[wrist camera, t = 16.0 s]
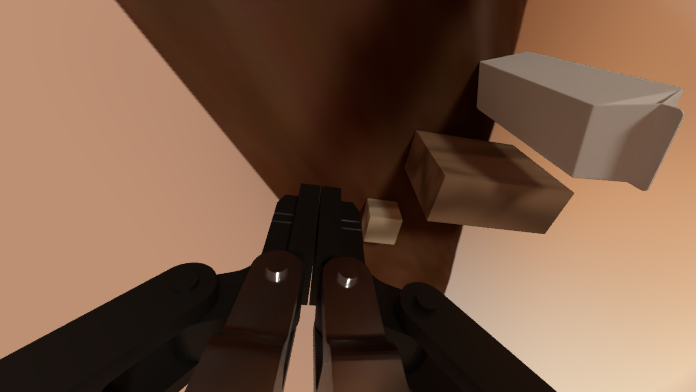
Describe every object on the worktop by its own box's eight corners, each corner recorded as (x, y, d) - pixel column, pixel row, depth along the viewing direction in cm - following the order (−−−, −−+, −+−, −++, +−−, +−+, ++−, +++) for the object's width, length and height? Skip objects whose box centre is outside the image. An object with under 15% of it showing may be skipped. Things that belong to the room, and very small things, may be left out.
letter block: (367, 197, 46) (370, 216, 42) (396, 201, 47) (402, 220, 43) (361, 222, 49) (363, 242, 45) (389, 225, 50) (393, 245, 46)
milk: (528, 51, 35) (744, 98, 16) (520, 100, 38) (694, 185, 20) (477, 61, 35) (634, 119, 17) (475, 109, 39) (603, 200, 20)
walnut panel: (416, 130, 40) (445, 175, 29) (512, 145, 42) (574, 193, 31) (404, 168, 43) (426, 221, 33) (494, 180, 45) (543, 234, 34)
